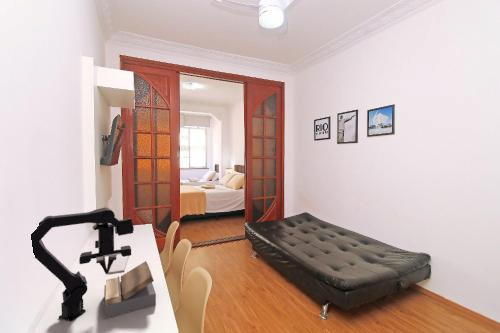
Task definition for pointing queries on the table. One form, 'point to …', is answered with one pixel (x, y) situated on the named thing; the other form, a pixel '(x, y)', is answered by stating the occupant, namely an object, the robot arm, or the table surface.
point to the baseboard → (118, 264)
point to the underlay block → (131, 302)
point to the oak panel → (113, 291)
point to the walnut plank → (136, 280)
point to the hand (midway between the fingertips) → (106, 273)
